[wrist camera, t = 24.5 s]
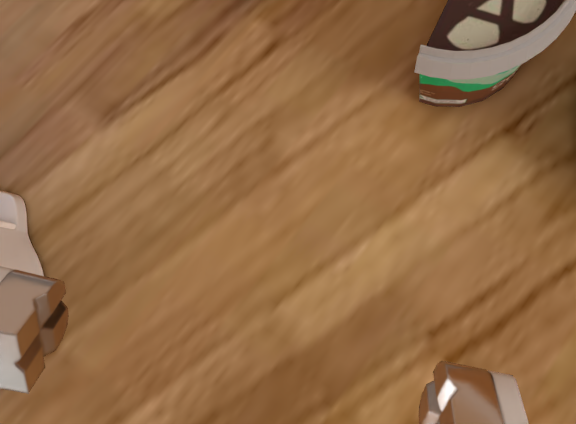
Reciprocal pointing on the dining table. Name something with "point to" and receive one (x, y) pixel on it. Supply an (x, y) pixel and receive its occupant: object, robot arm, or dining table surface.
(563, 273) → the dining table surface
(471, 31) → the food container
